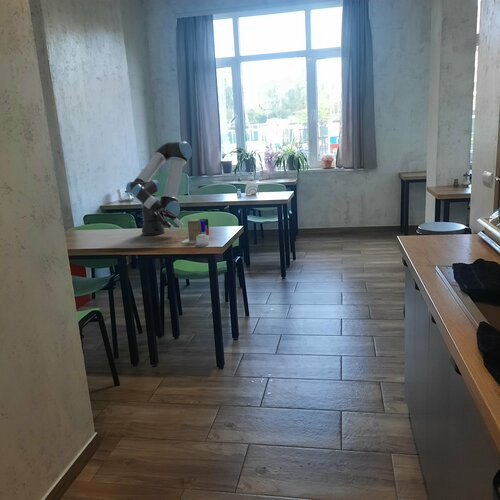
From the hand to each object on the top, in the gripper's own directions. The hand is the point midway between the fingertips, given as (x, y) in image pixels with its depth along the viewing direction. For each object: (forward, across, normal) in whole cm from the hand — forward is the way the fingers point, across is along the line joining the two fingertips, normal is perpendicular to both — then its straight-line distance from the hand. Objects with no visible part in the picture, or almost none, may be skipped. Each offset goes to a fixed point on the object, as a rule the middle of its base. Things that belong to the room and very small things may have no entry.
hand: (178, 228), depth 285 cm
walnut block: (+12, 0, +2) cm, 13 cm away
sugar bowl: (+18, +12, +8) cm, 23 cm away
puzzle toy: (+11, -16, 0) cm, 19 cm away
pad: (+13, 0, +2) cm, 13 cm away
